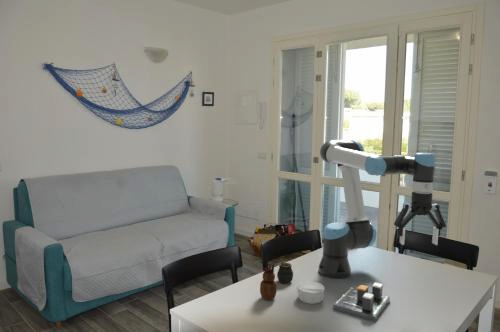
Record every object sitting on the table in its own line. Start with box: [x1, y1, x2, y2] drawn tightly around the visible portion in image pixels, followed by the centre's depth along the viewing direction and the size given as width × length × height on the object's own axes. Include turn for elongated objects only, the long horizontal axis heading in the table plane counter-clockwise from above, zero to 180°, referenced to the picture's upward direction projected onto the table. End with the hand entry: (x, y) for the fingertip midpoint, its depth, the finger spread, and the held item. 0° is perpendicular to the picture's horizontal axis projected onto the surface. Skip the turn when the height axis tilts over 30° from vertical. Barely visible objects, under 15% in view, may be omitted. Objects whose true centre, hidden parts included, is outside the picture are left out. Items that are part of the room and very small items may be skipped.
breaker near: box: [362, 293, 374, 311], centre depth 147 cm, size 3×4×5 cm
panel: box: [332, 286, 391, 322], centre depth 155 cm, size 16×20×2 cm
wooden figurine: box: [259, 262, 278, 301], centre depth 158 cm, size 7×6×15 cm
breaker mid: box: [357, 284, 369, 301], centre depth 154 cm, size 3×4×5 cm
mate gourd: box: [276, 257, 294, 285], centre depth 176 cm, size 7×8×10 cm
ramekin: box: [296, 280, 326, 305], centre depth 159 cm, size 11×11×5 cm
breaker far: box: [371, 282, 384, 299], centre depth 157 cm, size 3×4×5 cm
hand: (418, 243), depth 158 cm, fingers open, 13 cm apart
